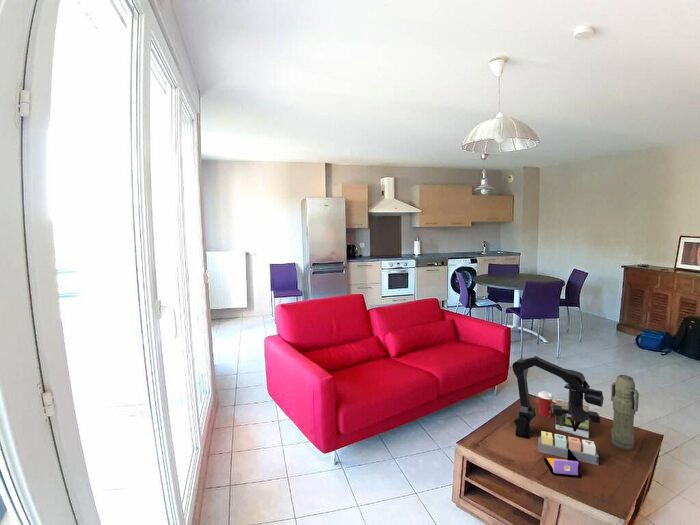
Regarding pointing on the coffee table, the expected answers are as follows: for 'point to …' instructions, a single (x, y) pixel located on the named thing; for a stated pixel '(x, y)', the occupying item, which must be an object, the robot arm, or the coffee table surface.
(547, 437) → the key
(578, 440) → the key with dash symbol
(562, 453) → the keypad
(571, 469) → the business card holder
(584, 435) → the tea box
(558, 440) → the key with caret symbol
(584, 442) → the key
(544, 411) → the paper cup
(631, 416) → the green thermos flask
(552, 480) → the coffee table surface
